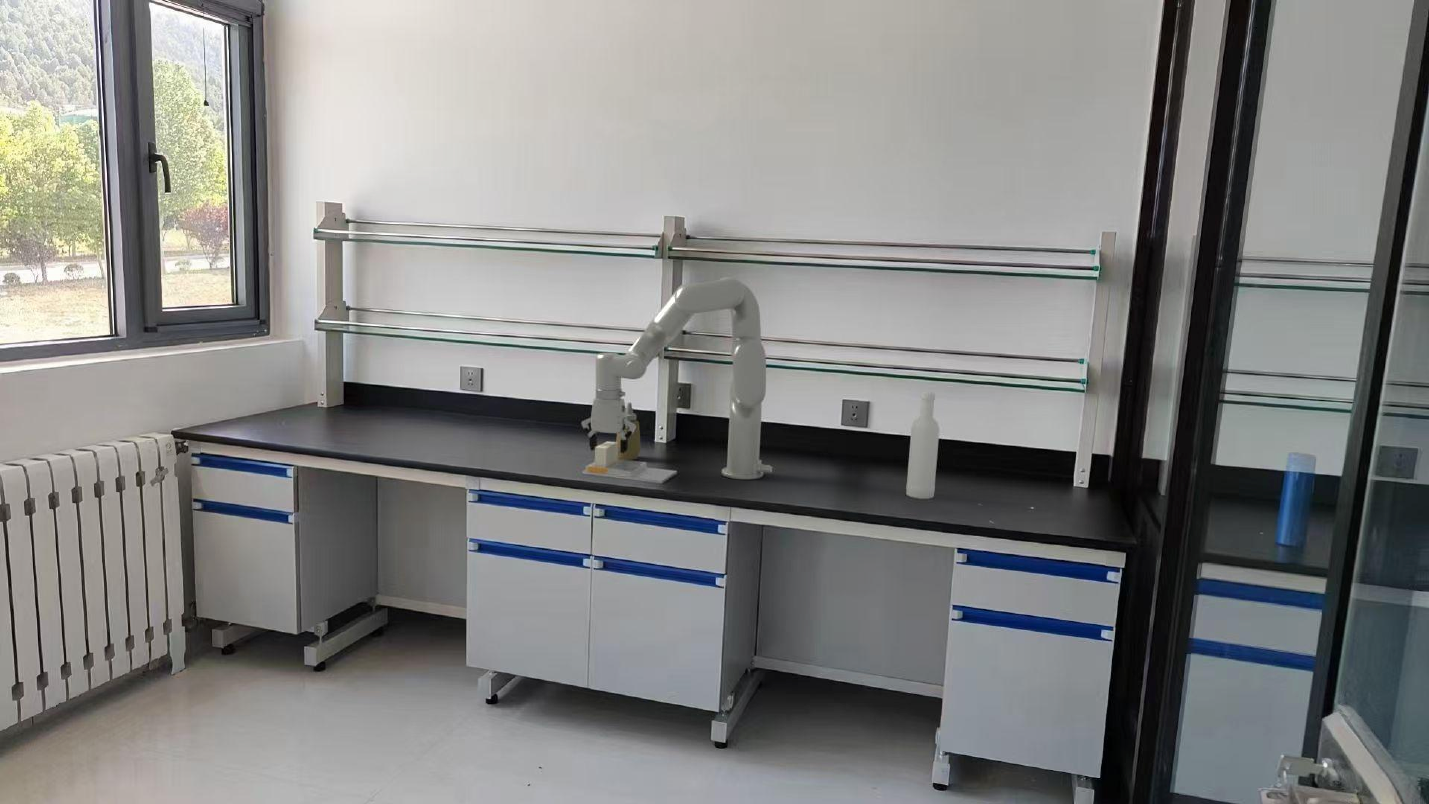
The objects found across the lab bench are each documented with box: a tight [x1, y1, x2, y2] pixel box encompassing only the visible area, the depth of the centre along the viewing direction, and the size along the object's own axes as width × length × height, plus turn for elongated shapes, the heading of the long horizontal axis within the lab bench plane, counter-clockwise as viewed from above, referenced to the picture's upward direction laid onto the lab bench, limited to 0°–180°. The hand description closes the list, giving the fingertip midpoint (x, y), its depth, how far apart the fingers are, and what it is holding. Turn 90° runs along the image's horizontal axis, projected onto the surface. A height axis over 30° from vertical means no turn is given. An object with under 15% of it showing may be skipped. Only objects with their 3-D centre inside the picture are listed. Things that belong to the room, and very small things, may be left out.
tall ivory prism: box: [594, 440, 618, 468], centre depth 287 cm, size 4×9×7 cm, turn 164°
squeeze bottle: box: [615, 402, 642, 461], centre depth 303 cm, size 8×8×18 cm
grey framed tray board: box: [582, 458, 678, 484], centre depth 285 cm, size 25×13×2 cm, turn 73°
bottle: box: [905, 391, 940, 500], centre depth 272 cm, size 8×8×30 cm
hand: (608, 450), depth 286 cm, fingers open, 9 cm apart
